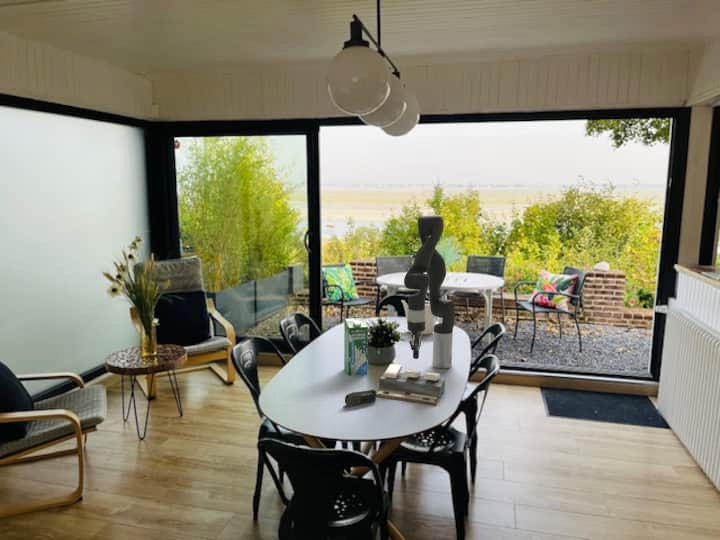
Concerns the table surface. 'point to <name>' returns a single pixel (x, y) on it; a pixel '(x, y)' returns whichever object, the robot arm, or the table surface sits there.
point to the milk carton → (355, 346)
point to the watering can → (429, 318)
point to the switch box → (411, 389)
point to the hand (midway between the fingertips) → (415, 358)
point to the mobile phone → (360, 398)
